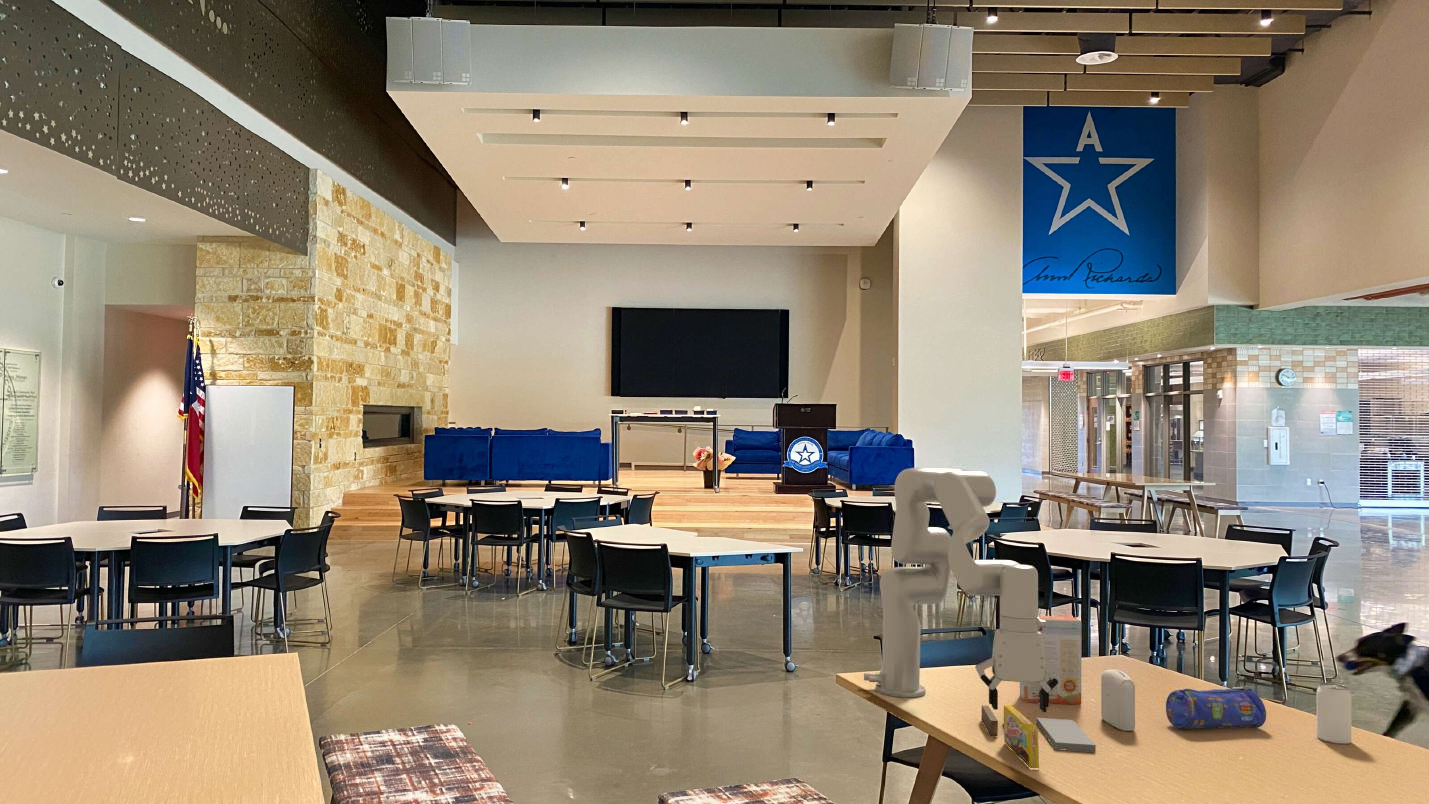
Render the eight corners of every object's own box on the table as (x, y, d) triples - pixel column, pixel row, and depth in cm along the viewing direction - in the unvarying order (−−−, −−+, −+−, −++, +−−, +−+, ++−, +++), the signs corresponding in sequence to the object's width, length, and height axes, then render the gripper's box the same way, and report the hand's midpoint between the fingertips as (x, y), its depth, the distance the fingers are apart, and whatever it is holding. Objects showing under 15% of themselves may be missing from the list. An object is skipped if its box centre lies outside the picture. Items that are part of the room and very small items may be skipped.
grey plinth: (1055, 749, 193) (1055, 742, 193) (1036, 724, 211) (1036, 717, 211) (1095, 752, 192) (1095, 745, 192) (1072, 726, 210) (1072, 720, 210)
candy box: (1002, 744, 196) (1003, 704, 197) (1012, 744, 196) (1013, 704, 197) (1028, 770, 180) (1029, 727, 180) (1039, 771, 180) (1040, 728, 180)
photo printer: (1098, 718, 217) (1098, 665, 218) (1116, 718, 218) (1116, 665, 218) (1119, 731, 207) (1119, 676, 208) (1137, 732, 207) (1138, 676, 208)
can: (1346, 737, 208) (1346, 684, 208) (1355, 746, 202) (1355, 691, 202) (1313, 734, 210) (1313, 680, 210) (1321, 742, 204) (1321, 687, 204)
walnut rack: (990, 736, 200) (990, 720, 201) (981, 720, 212) (981, 705, 212) (1021, 738, 200) (1022, 722, 200) (1010, 722, 211) (1011, 707, 212)
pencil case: (1243, 721, 219) (1243, 680, 220) (1272, 732, 211) (1272, 690, 211) (1161, 723, 215) (1161, 682, 215) (1187, 735, 207) (1187, 692, 207)
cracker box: (1074, 699, 234) (1075, 616, 235) (1081, 705, 228) (1082, 620, 229) (1018, 696, 235) (1019, 613, 236) (1023, 702, 229) (1025, 617, 230)
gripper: (1057, 623, 193) (1057, 707, 192) (973, 620, 195) (972, 702, 194) (1066, 630, 185) (1067, 716, 184) (978, 626, 188) (978, 711, 186)
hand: (1018, 709), depth 189 cm, fingers open, 9 cm apart
